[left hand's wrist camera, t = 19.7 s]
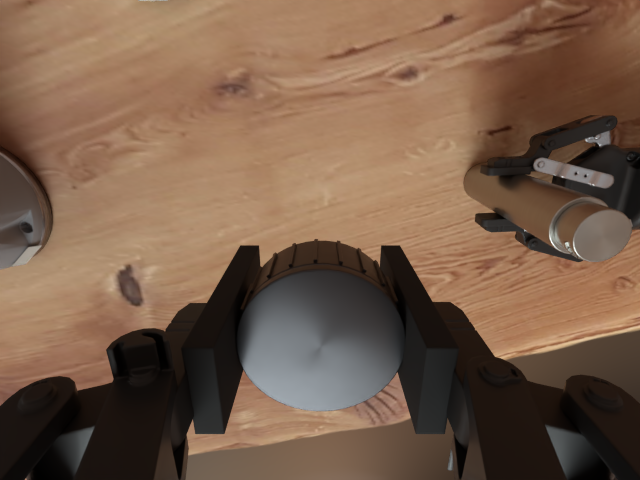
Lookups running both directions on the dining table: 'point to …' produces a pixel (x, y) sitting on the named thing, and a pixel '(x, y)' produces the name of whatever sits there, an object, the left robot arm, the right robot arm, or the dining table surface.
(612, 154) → the right robot arm
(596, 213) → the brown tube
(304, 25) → the dining table surface
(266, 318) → the lid
